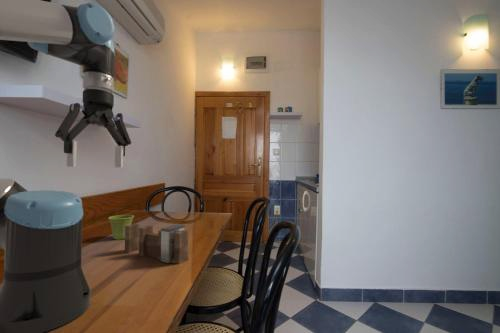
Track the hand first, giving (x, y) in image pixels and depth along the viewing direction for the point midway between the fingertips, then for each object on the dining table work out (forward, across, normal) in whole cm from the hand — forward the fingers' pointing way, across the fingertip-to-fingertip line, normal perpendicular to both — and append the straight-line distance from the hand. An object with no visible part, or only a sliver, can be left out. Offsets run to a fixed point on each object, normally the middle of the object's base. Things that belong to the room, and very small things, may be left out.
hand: (97, 167), depth 71 cm
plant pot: (+29, +26, +23) cm, 45 cm away
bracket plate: (+28, +16, -14) cm, 35 cm away
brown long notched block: (+29, +16, -6) cm, 33 cm away
